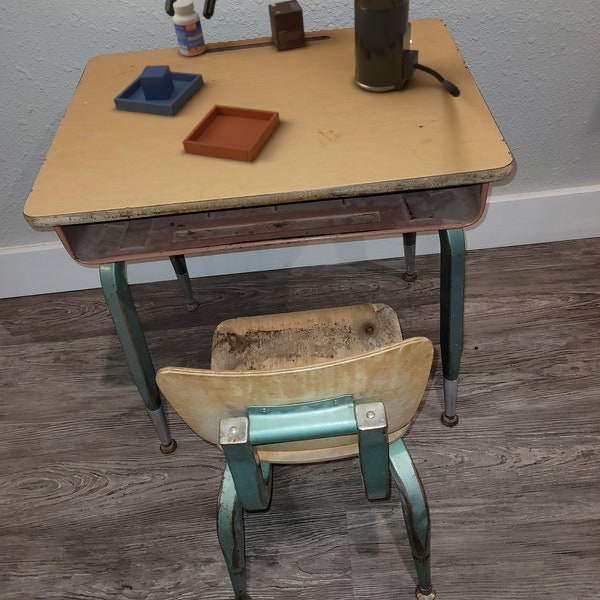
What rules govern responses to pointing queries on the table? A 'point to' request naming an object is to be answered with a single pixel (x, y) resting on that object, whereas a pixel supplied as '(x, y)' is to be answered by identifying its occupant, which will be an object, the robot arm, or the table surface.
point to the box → (287, 24)
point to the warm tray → (232, 132)
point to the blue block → (157, 82)
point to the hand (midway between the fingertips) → (188, 16)
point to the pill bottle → (188, 28)
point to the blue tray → (182, 92)
